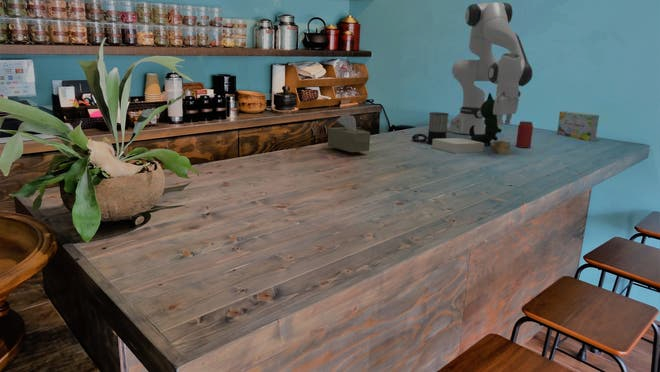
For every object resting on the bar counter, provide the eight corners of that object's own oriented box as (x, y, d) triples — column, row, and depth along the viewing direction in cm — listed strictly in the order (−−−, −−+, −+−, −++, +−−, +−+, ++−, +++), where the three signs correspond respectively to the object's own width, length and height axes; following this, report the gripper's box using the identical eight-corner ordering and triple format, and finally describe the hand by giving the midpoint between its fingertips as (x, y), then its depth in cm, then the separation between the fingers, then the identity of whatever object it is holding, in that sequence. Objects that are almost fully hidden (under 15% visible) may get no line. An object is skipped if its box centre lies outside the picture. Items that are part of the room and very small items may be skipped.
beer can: (528, 148, 239) (531, 123, 237) (514, 146, 243) (517, 121, 240) (532, 147, 244) (535, 122, 242) (518, 145, 248) (521, 120, 246)
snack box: (555, 138, 284) (559, 111, 280) (562, 137, 286) (566, 111, 282) (588, 143, 265) (592, 114, 261) (595, 143, 267) (600, 114, 264)
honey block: (491, 152, 223) (493, 141, 222) (500, 152, 225) (501, 140, 224) (500, 154, 219) (501, 142, 218) (508, 153, 221) (510, 142, 220)
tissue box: (327, 145, 225) (328, 110, 221) (345, 144, 230) (346, 109, 226) (350, 152, 209) (352, 114, 206) (369, 151, 215) (371, 113, 211)
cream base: (432, 147, 230) (432, 138, 229) (459, 146, 237) (460, 137, 236) (454, 153, 216) (455, 144, 215) (483, 151, 223) (484, 142, 222)
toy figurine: (489, 148, 236) (495, 93, 230) (461, 142, 252) (466, 91, 246) (504, 147, 240) (510, 93, 234) (476, 141, 256) (481, 91, 251)
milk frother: (447, 145, 238) (450, 114, 235) (414, 144, 239) (416, 112, 235) (442, 141, 252) (444, 111, 249) (410, 140, 252) (412, 110, 249)
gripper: (506, 92, 206) (502, 126, 209) (522, 92, 222) (518, 124, 225) (491, 92, 210) (487, 125, 213) (507, 92, 226) (504, 123, 229)
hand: (503, 124), depth 219 cm, fingers open, 8 cm apart
